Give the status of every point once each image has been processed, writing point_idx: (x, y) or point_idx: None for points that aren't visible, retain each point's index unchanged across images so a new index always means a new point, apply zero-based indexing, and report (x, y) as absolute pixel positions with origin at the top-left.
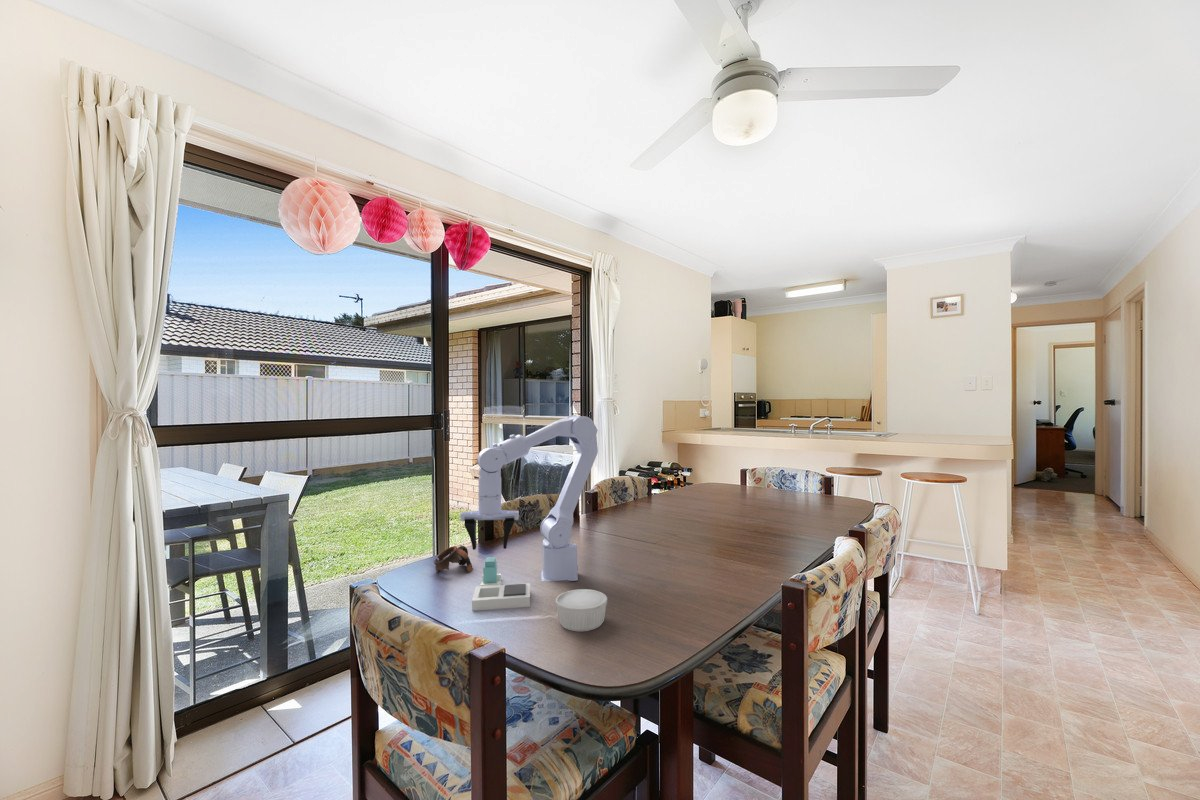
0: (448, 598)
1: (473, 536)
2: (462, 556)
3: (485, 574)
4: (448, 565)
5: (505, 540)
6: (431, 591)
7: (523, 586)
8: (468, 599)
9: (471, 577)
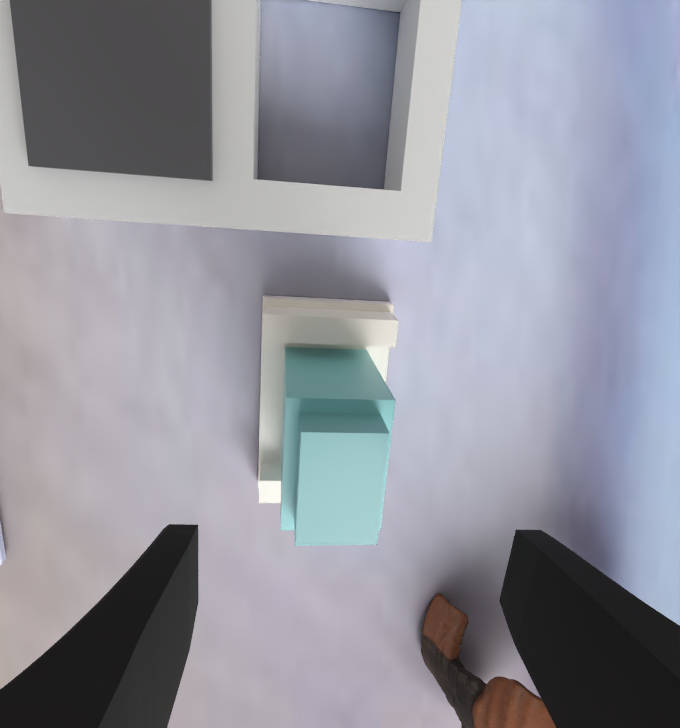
0: (565, 272)
1: (647, 639)
2: (519, 687)
3: (367, 380)
4: None
5: (138, 584)
6: (642, 397)
7: (40, 96)
8: (455, 226)
9: (429, 554)
